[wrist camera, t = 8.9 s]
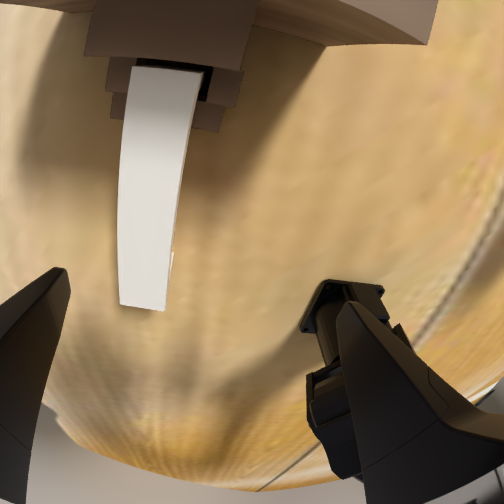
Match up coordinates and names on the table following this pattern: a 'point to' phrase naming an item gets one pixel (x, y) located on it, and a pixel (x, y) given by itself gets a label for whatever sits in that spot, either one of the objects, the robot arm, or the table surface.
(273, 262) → the table surface
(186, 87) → the bed rail
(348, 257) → the table surface
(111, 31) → the brown wooden block
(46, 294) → the robot arm
